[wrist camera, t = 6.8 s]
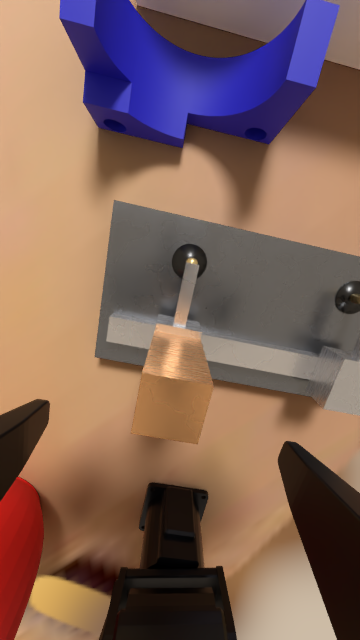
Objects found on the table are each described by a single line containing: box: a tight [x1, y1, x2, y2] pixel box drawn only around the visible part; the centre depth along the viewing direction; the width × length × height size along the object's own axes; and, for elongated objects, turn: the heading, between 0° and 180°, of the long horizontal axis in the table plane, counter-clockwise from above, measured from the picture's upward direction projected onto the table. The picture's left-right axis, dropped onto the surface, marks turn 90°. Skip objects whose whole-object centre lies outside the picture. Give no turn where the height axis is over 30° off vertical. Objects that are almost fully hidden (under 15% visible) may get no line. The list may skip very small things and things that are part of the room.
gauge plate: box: [95, 200, 360, 416], centre depth 17 cm, size 12×22×5 cm, turn 78°
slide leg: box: [131, 258, 214, 444], centre depth 13 cm, size 8×3×9 cm, turn 168°
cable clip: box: [60, 0, 340, 148], centre depth 13 cm, size 12×4×6 cm, turn 78°
